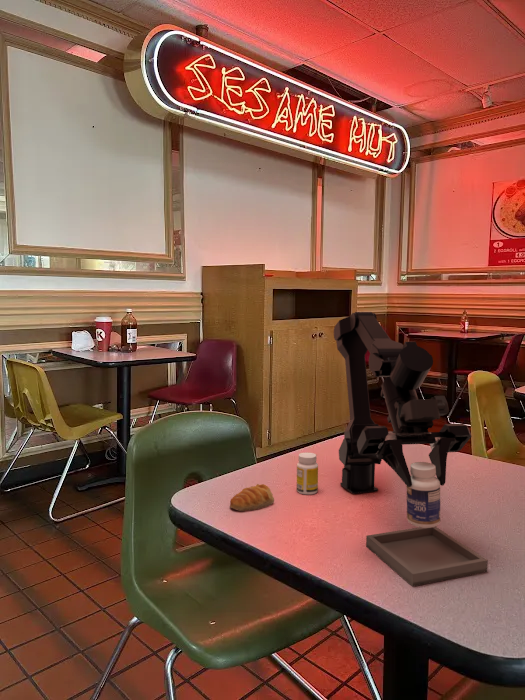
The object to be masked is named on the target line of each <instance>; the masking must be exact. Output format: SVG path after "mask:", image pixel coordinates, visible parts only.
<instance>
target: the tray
mask: <svg viewBox="0 0 525 700" xmlns="http://www.w3.org/2000/svg"><path fill="white" fill-rule="evenodd" d="M365 537H366V539H365V540H366V541H365V542H366V543H365V547H366V548H367V549H369V551H371V552H372V553H373V554H374V555H375V554H376V555H375V556H377V558H379V559H380V560H381V561H382V562H383V563H384V564H385V565H387V566H388V567H389V568H390V569H392V570H393V572H394V573H396V574H397V575H399V577H401V578H402V579H403V580H405V582H406V583H408V584H409V585H410V586H411V587H413V588H414V587H417V586H423V585H428V584H433V583H438V582H442V581H443V582H444V581H448V580H453V579H458V578H465V577H470V576H475V575H479V574H485V573H488V564H489V563H488V559H487V558H485V557H484V556H482V555H481V554H479V553H477V552H476V551H474V550H473V549H471V548H469V547H468V546H466V544H463V543H462V542H460V541H459V540H457V539H456V538H454V537H453V536H451V535H449V534H448V533H446V532H445V531H444V530H442V529H440V528H439V527H438V526H435V527H431V528H421V527H414V528H413V527H412V528H407V529H406V528H405V529H401V530H393V531H387V532H381V533H374V534H373V533H372V534H367V535H366V536H365Z"/></svg>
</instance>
